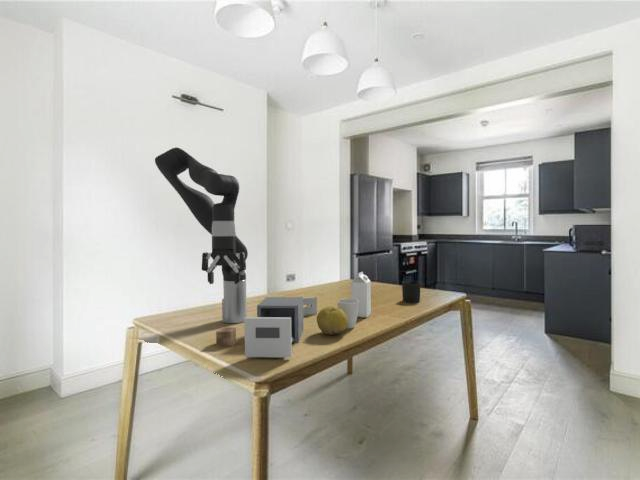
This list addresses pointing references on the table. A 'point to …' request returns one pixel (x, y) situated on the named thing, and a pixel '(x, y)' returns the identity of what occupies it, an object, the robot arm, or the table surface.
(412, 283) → the pen holder
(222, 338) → the block
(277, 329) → the grey flat-panelled piece
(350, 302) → the cup
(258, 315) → the grey open box
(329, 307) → the fruit
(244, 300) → the robot arm
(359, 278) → the milk carton
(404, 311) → the table surface
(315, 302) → the cassette
